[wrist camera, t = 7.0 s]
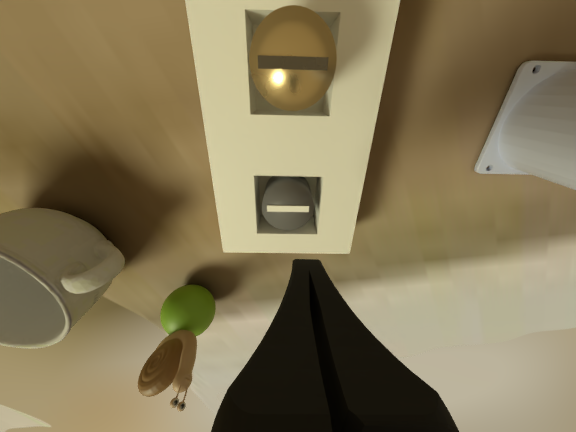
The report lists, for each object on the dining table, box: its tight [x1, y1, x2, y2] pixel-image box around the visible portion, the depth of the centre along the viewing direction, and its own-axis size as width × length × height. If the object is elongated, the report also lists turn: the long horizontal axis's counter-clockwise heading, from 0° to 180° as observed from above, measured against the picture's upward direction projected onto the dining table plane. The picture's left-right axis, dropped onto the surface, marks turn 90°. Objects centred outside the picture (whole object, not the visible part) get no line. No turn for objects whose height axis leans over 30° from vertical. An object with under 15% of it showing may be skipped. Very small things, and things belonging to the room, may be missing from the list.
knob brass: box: [249, 5, 337, 111], centre depth 12 cm, size 4×4×3 cm
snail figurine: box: [138, 285, 215, 411], centre depth 21 cm, size 5×6×12 cm
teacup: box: [0, 208, 125, 349], centre depth 20 cm, size 14×11×8 cm
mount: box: [185, 0, 400, 254], centre depth 14 cm, size 11×27×4 cm, turn 179°
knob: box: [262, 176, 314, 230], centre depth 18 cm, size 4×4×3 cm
